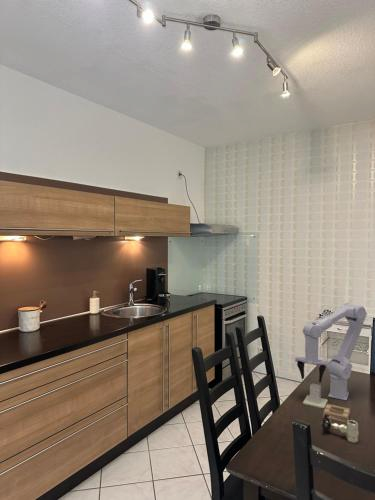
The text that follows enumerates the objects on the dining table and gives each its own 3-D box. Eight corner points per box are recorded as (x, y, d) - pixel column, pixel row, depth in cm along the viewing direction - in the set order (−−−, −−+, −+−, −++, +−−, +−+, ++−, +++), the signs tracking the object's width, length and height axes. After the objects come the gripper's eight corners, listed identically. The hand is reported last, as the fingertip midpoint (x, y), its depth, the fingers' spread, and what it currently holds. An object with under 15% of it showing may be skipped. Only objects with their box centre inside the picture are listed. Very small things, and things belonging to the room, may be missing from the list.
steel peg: (311, 398, 160) (311, 383, 160) (320, 400, 158) (321, 385, 158) (309, 401, 157) (309, 386, 157) (319, 403, 155) (319, 388, 155)
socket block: (327, 408, 152) (327, 403, 152) (349, 413, 147) (349, 408, 147) (323, 416, 144) (323, 412, 144) (347, 422, 139) (347, 417, 139)
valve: (360, 438, 128) (326, 427, 136) (360, 420, 128) (327, 410, 136) (356, 446, 123) (321, 434, 131) (356, 427, 123) (321, 417, 130)
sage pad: (307, 396, 164) (307, 395, 164) (327, 400, 159) (327, 399, 159) (302, 403, 156) (302, 402, 156) (324, 408, 151) (324, 407, 151)
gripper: (293, 350, 160) (293, 379, 160) (327, 355, 152) (326, 386, 152) (297, 346, 166) (296, 374, 166) (329, 351, 158) (329, 381, 158)
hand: (311, 380), depth 159 cm, fingers open, 7 cm apart
